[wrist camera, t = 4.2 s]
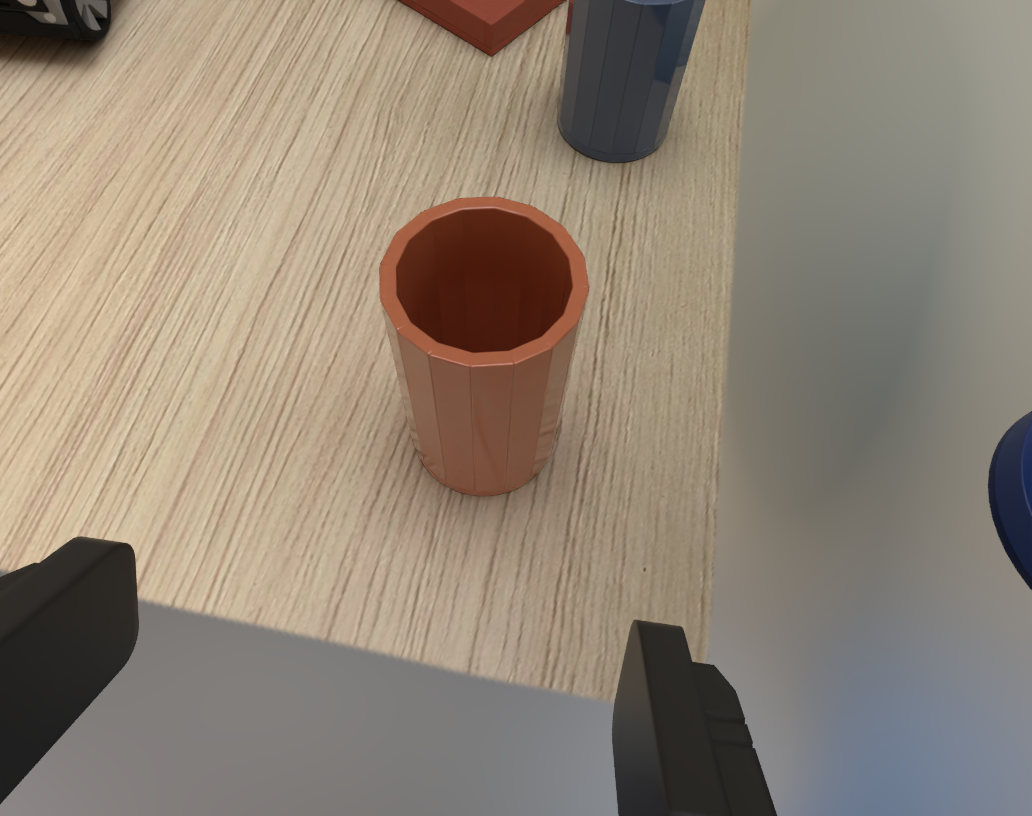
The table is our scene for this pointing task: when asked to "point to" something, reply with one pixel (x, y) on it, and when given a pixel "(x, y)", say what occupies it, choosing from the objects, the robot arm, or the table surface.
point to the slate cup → (623, 73)
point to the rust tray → (485, 18)
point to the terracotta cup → (483, 337)
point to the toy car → (56, 18)
